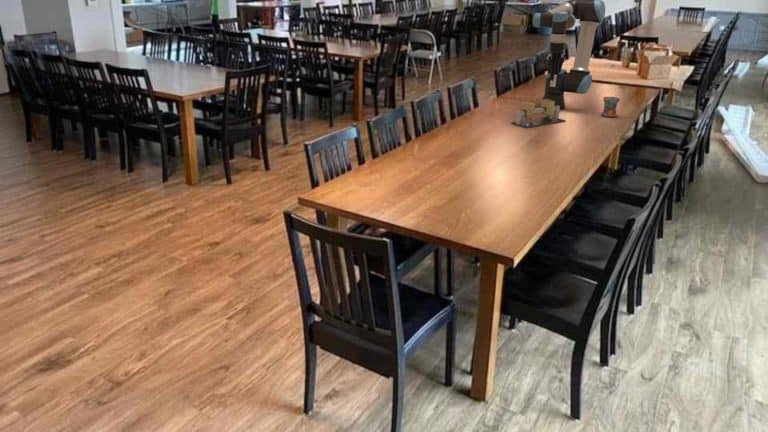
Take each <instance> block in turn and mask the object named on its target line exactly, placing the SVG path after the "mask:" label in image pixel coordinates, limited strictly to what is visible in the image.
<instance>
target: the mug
mask: <svg viewBox="0 0 768 432" xmlns="http://www.w3.org/2000/svg"><path fill="white" fill-rule="evenodd" d="M602 98H603V99H602V100H603V102H604V103H603V104H604V106H603V110H602V112H601V115H602V116H604V117H607V118H615V117H617V107H618V104H619V102H620V100H621V98H620V97H616V96H604V97H602Z"/></svg>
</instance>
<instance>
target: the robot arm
mask: <svg viewBox="0 0 768 432" xmlns="http://www.w3.org/2000/svg"><path fill="white" fill-rule="evenodd" d="M605 17H606V4H605V2H604V0H566V1H564V2H562V3H560V4H559V5H558V6H556V7H554V8H553V9H551V10H547V11H545V12H536V13H534V15H533V17H532V25H533V27H535V28H539V29H540V28H547V29H551V32H550V43H549V50H550V51H549V54H548V55H546V56H545V59H546V66H547V67H546V68H547V69H546V70H547V72H546V76H545V82H544V83H545V85H544V95H543V96H542V99H541V101H542V100H544V99H549V100H553V101H555V103H554V105H558V106H560V110H561V111H562V110H564V109H565V110H566V103H565V97H564V96H565V93H572V94H577V95H583V94H586V93H588V91H589V90H590V88H591V85H592V83H593V82H592V81H593V76H592V74H591V71H590V69H589V66H590V59H591V55H592V50H593V45H594V40H595V37H596V36H595V35H596V30H597V27H599V25H600V24H601V22H603V21H604V20H605ZM577 20H578V23H579V24H580V30H579V36H578V41H577V46H576V51H575V56H574V62H573V67H571V68H570V69H569V71H568V70H567V69H566V68H563V65H564V61H565V59H566V56H567V55H566V54H564V50H565V45H566V44H565V42H566V35H567V30H570V29H572V28H573V27H574V26H575V25H576V23H577V22H576V21H577ZM539 108H541V102H540V105H539ZM560 110H559V111H560Z"/></svg>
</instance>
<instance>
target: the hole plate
mask: <svg viewBox="0 0 768 432" xmlns="http://www.w3.org/2000/svg"><path fill="white" fill-rule="evenodd" d="M533 118H534V117H533ZM566 121H567V120H566V119H563V118H557V119H555V118H552V120H550V117H548V116H547V117H546V116H542V117H536V118H534V120H532V124H531V123H530V120H526V119H523V123H522V124H520V125H519V124H516V120H514V121H511V123H510V124H511V125H514V126H517V127H521V128H524V129H531V128H538V127H543V126H549V125H556V124H560V123H561V124H562V123H566Z"/></svg>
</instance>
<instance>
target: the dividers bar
mask: <svg viewBox="0 0 768 432" xmlns="http://www.w3.org/2000/svg"><path fill="white" fill-rule="evenodd" d="M520 109H521V110H517V111H516V117H515V119H516V120H515V121H516V124H519V125H520V124H522V123H523V120H530V123H531V124H532V120H534V117H533V114H538V113H539V114H540V112H545V111H546V107H542V108H541V107H536V103H533V102H530V101H523V102H521V106H520ZM552 115H553V117H552V118H555V119H557V118H559V117H560V106H558V105H554V107H553V108H552ZM559 119H560V118H559Z"/></svg>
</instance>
